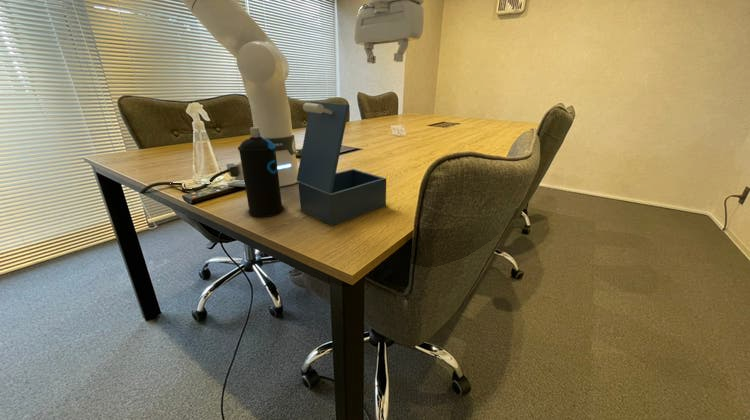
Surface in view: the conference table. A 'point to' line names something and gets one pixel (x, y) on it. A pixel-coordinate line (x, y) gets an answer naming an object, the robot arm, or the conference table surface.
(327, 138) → the lid
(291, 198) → the conference table surface
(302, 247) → the conference table surface
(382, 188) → the box
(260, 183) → the aerosol can
